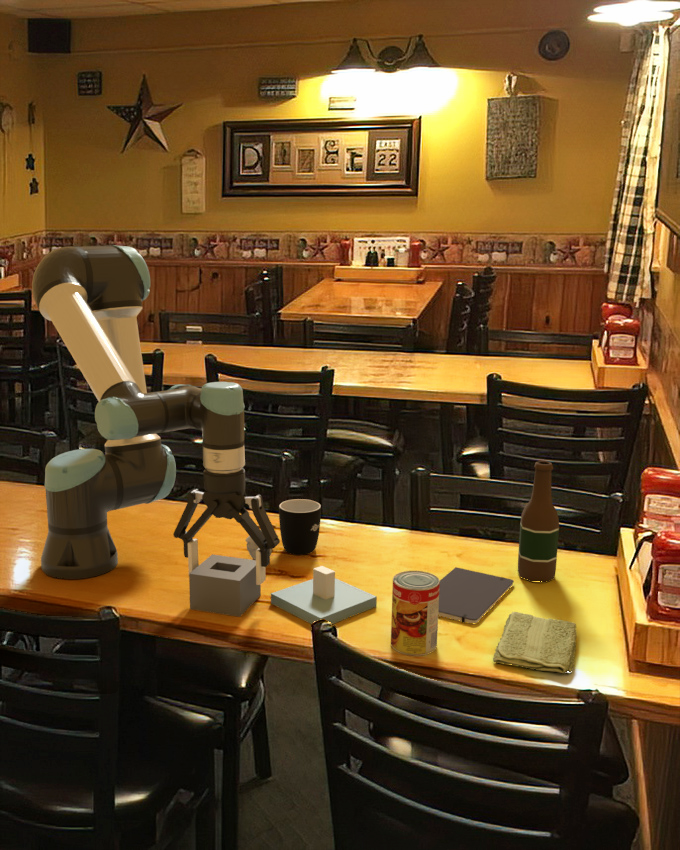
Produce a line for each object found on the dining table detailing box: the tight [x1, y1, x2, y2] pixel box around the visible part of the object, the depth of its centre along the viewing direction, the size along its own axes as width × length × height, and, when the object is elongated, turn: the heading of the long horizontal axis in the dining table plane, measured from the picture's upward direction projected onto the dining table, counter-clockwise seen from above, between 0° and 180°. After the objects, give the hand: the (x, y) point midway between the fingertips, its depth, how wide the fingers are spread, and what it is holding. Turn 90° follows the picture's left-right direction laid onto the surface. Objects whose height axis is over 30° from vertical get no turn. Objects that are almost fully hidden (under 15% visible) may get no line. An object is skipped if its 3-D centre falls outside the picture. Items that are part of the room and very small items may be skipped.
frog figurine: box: [245, 535, 273, 560], centre depth 194 cm, size 6×7×7 cm
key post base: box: [270, 565, 378, 625], centre depth 173 cm, size 14×14×7 cm
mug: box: [278, 498, 322, 556], centre depth 201 cm, size 12×9×10 cm
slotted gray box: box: [188, 553, 262, 618], centre depth 174 cm, size 10×10×7 cm
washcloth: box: [492, 611, 577, 674], centre depth 158 cm, size 13×18×3 cm
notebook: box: [438, 567, 514, 624], centre depth 179 cm, size 13×2×21 cm
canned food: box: [390, 570, 441, 657], centre depth 158 cm, size 8×8×12 cm
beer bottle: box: [517, 460, 560, 583], centre depth 186 cm, size 8×8×24 cm
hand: (227, 578), depth 173 cm, fingers open, 13 cm apart
